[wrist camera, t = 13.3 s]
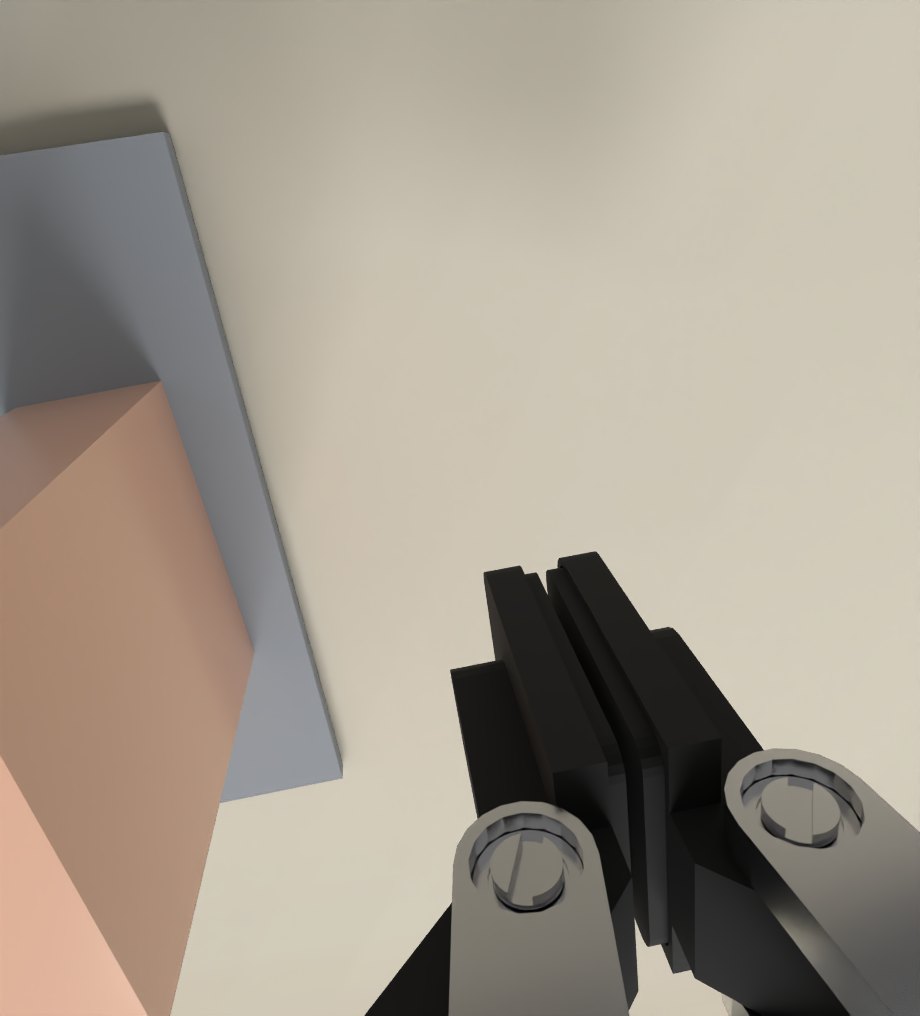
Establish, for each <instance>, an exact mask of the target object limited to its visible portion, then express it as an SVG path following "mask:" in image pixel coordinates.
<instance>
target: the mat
mask: <svg viewBox="0 0 920 1016" xmlns="http://www.w3.org/2000/svg"><path fill="white" fill-rule="evenodd" d="M156 381H162V384H163V387H164V390H165V393H166V396H167V399H168V402H169V405H170V408H171V411H172V414H173V417H174V419H175V422H176V425H177V428H178V431H179V434H180V437H181V440H182V443H183V446H184V449H185V452H186V454H187V457H188V460H189V463H190V466H191V469H192V472H193V475H194V478H195V481H196V484H197V487H198V489H199V492H200V495H201V498H202V501H203V504H204V507H205V510H206V513H207V516H208V519H209V522H210V524H211V527H212V530H213V533H214V536H215V539H216V542H217V545H218V548H219V551H220V554H221V557H222V560H223V562H224V565H225V568H226V571H227V574H228V577H229V580H230V583H231V586H232V589H233V592H234V595H235V597H236V600H237V603H238V606H239V609H240V612H241V615H242V618H243V621H244V624H245V627H246V630H247V632H248V635H249V638H250V641H251V644H252V647H253V650H254V657H253V662H252V666H251V670H250V675H249V679H248V683H247V687H246V692H245V696H244V700H243V705H242V709H241V713H240V717H239V722H238V726H237V730H236V735H235V739H234V743H233V748H232V752H231V756H230V760H229V765H228V769H227V773H226V778H225V782H224V786H223V790H222V795H221V799H220V803H222V802H227V801H232V800H237V799H242V798H247V797H252V796H257V795H262V794H267V793H272V792H277V791H282V790H287V789H292V788H297V787H301V786H306V785H311V784H316V783H321V782H326V781H331V780H336V779H341V778H342V776H343V764H342V760H341V757H340V753H339V749H338V746H337V742H336V738H335V735H334V731H333V727H332V724H331V720H330V716H329V713H328V709H327V705H326V702H325V698H324V694H323V691H322V687H321V684H320V680H319V676H318V673H317V669H316V665H315V662H314V658H313V654H312V651H311V647H310V643H309V640H308V636H307V632H306V629H305V625H304V622H303V618H302V614H301V611H300V607H299V603H298V600H297V596H296V592H295V589H294V585H293V581H292V578H291V574H290V570H289V567H288V563H287V559H286V556H285V552H284V549H283V545H282V541H281V538H280V534H279V530H278V527H277V523H276V519H275V516H274V512H273V508H272V505H271V501H270V497H269V494H268V490H267V487H266V483H265V479H264V476H263V472H262V468H261V465H260V461H259V457H258V454H257V450H256V446H255V443H254V439H253V435H252V432H251V428H250V424H249V421H248V417H247V414H246V410H245V406H244V403H243V399H242V395H241V392H240V388H239V384H238V381H237V377H236V373H235V370H234V366H233V362H232V359H231V355H230V351H229V348H228V344H227V341H226V337H225V333H224V330H223V326H222V322H221V319H220V315H219V311H218V308H217V304H216V300H215V297H214V293H213V289H212V286H211V282H210V279H209V275H208V271H207V268H206V264H205V260H204V257H203V253H202V249H201V246H200V242H199V238H198V235H197V231H196V227H195V224H194V220H193V216H192V213H191V209H190V206H189V202H188V198H187V195H186V191H185V187H184V184H183V180H182V176H181V173H180V169H179V165H178V162H177V158H176V154H175V151H174V147H173V143H172V140H171V136H170V134H169V133H166V132H157V133H151V134H144V135H137V136H130V137H123V138H116V139H109V140H102V141H95V142H89V143H82V144H75V145H68V146H61V147H54V148H47V149H40V150H33V151H26V152H20V153H13V154H6V155H0V417H2V416H3V415H5V414H6V413H8V412H10V411H11V410H13V409H15V408H17V407H23V406H28V405H33V404H39V403H44V402H49V401H55V400H60V399H65V398H71V397H76V396H81V395H87V394H92V393H97V392H103V391H108V390H113V389H119V388H124V387H130V386H135V385H140V384H146V383H151V382H156Z"/></svg>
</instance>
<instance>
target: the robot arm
mask: <svg viewBox="0 0 920 1016" xmlns="http://www.w3.org/2000/svg"><path fill="white" fill-rule="evenodd" d="M546 581H547V591H548V595H547V593H546V591H545V589H544V587H543V584H542V582H541V580H540V578H539V576H538V574H537V573H536V572H535V573H530V574H524V572H523V569H522V568H521V566H515V567H509V568H504V569H499V570H494V571H488V572H484V584H485V591H486V598H487V605H488V612H489V619H490V626H491V633H492V640H493V647H494V654H495V661H492V662H487V663H482V664H477V665H472V666H467V667H462V668H457V669H452V670H450V672H451V678H452V684H453V689H454V695H455V701H456V706H457V712H458V717H459V723H460V728H461V734H462V739H463V745H464V750H465V755H466V761H467V766H468V771H469V777H470V782H471V787H472V792H473V797H474V803H475V808H476V813H477V818H478V819H477V820H476V821H475V822H474V823H473V824H472V825H471V826H470V827H469V828H468V829H467V830H466V832H465V833H464V835H463V837H462V839H461V840H460V842H459V844H458V845H457V849H456V854H455V859H454V864H453V887H452V903H451V904H450V906H449V907H448V908H447V910H446V911H445V912H444V913H443V915H442V916H441V917H440V919H439V920H438V921H437V923H436V924H435V925H434V926H433V928H432V929H431V930H430V932H429V933H428V934H427V935H426V937H425V938H424V939H423V941H422V942H421V943H420V944H419V946H418V947H417V948H416V950H415V951H414V952H413V954H412V955H411V956H410V957H409V959H408V960H407V961H406V963H405V964H404V965H403V966H402V968H401V969H400V970H399V972H398V973H397V974H396V975H395V977H394V978H393V979H392V981H391V982H390V983H389V985H388V986H387V987H386V988H385V990H384V991H383V992H382V994H381V995H380V996H379V997H378V999H377V1000H376V1001H375V1003H374V1004H373V1005H372V1007H371V1008H370V1009H369V1010H368V1012H367V1013H366V1014H365V1016H629V1009H630V1007H631V1005H632V1003H633V1001H634V999H635V997H636V995H637V993H638V976H637V957H636V939H635V921H634V917H635V920H636V922H637V925H638V928H639V930H640V933H641V935H642V938H643V940H644V942H645V944H646V945H647V946H648V947H650V946H654V945H659V944H661V945H662V948H663V950H664V953H665V955H666V958H667V960H668V963H669V965H670V967H671V970H672V972H673V974H675V973H679V972H683V971H688V970H692V973H693V975H694V977H695V979H697V980H699V981H701V982H703V983H704V984H706V985H708V986H710V987H712V988H713V989H715V990H717V991H719V992H721V994H722V1001H723V1003H724V1006H725V1008H726V1010H727V1012H728V1015H729V1016H920V832H919V831H918V830H917V829H916V828H914V827H913V826H912V825H911V824H910V823H909V822H908V821H907V820H906V819H905V818H903V817H902V816H901V815H900V814H899V813H898V812H897V811H896V810H895V809H894V808H892V807H891V806H890V805H889V804H888V803H887V802H886V801H885V800H884V799H883V798H881V797H880V796H879V795H878V794H877V793H876V792H875V791H874V790H873V789H872V788H870V787H869V786H868V785H867V784H866V783H865V782H864V781H863V780H862V779H861V778H859V777H858V776H856V775H855V774H854V773H852V772H851V771H850V770H848V769H847V768H845V767H844V766H843V765H841V764H839V763H837V762H835V761H832V760H830V759H828V758H826V757H823V756H821V755H819V754H815V753H810V752H806V751H802V750H798V749H769V750H763V748H762V747H761V746H760V744H759V743H758V742H757V740H756V739H755V737H754V736H753V735H752V733H751V732H750V731H749V729H748V728H747V727H746V725H745V724H744V722H743V721H742V720H741V718H740V717H739V716H738V714H737V713H736V712H735V710H734V709H733V707H732V706H731V705H730V703H729V702H728V701H727V699H726V698H725V696H724V695H723V694H722V692H721V691H720V690H719V688H718V687H717V686H716V684H715V683H714V681H713V680H712V679H711V677H710V676H709V675H708V673H707V672H706V671H705V669H704V668H703V666H702V665H701V664H700V662H699V661H698V660H697V658H696V657H695V656H694V654H693V653H692V651H691V650H690V649H689V647H688V646H687V645H686V643H685V642H684V641H683V639H682V638H681V636H680V635H679V634H678V633H677V632H676V631H675V630H674V629H673V628H670V627H666V628H661V629H655V630H649V629H648V627H647V626H646V624H645V623H644V621H643V620H642V618H641V617H640V615H639V614H638V612H637V611H636V609H635V608H634V606H633V605H632V603H631V602H630V600H629V599H628V597H627V596H626V594H625V593H624V591H623V590H622V588H621V587H620V585H619V584H618V582H617V581H616V579H615V578H614V576H613V575H612V573H611V572H610V570H609V569H608V567H607V566H606V564H605V563H604V562H603V560H602V559H601V557H600V556H599V554H598V553H597V552H589V553H584V554H579V555H573V556H568V557H563V558H559V559H558V568H557V569H551V570H547V572H546Z"/></svg>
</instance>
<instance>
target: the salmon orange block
mask: <svg viewBox="0 0 920 1016" xmlns="http://www.w3.org/2000/svg"><path fill="white" fill-rule="evenodd" d="M253 657H254V650H253V647H252V644H251V641H250V638H249V635H248V632H247V630H246V627H245V624H244V621H243V618H242V615H241V612H240V609H239V606H238V603H237V600H236V597H235V595H234V592H233V589H232V586H231V583H230V580H229V577H228V574H227V571H226V568H225V565H224V562H223V560H222V557H221V554H220V551H219V548H218V545H217V542H216V539H215V536H214V533H213V530H212V527H211V524H210V522H209V519H208V516H207V513H206V510H205V507H204V504H203V501H202V498H201V495H200V492H199V489H198V487H197V484H196V481H195V478H194V475H193V472H192V469H191V466H190V463H189V460H188V457H187V454H186V452H185V449H184V446H183V443H182V440H181V437H180V434H179V431H178V428H177V425H176V422H175V419H174V417H173V414H172V411H171V408H170V405H169V402H168V399H167V396H166V393H165V390H164V387H163V384H162V381H156V382H151V383H146V384H140V385H135V386H130V387H124V388H119V389H113V390H108V391H103V392H97V393H92V394H87V395H81V396H76V397H71V398H65V399H60V400H55V401H49V402H44V403H39V404H33V405H28V406H23V407H17V408H15V409H13V410H11V411H10V412H8V413H6V414H5V415H3V416H2V417H0V1016H170V1014H171V1010H172V1005H173V1001H174V997H175V992H176V988H177V984H178V979H179V975H180V971H181V967H182V962H183V958H184V954H185V949H186V945H187V941H188V937H189V932H190V928H191V924H192V919H193V915H194V911H195V906H196V902H197V898H198V894H199V889H200V885H201V881H202V876H203V872H204V868H205V863H206V859H207V855H208V851H209V846H210V842H211V838H212V833H213V829H214V825H215V821H216V816H217V812H218V808H219V803H220V799H221V795H222V790H223V786H224V782H225V778H226V773H227V769H228V765H229V760H230V756H231V752H232V748H233V743H234V739H235V735H236V730H237V726H238V722H239V717H240V713H241V709H242V705H243V700H244V696H245V692H246V687H247V683H248V679H249V675H250V670H251V666H252V662H253Z"/></svg>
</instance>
